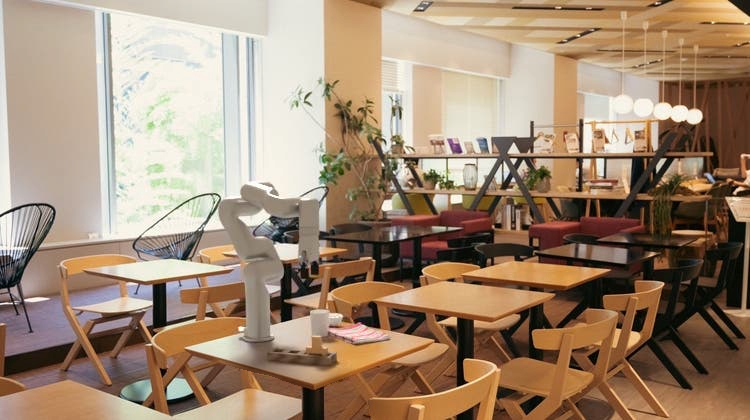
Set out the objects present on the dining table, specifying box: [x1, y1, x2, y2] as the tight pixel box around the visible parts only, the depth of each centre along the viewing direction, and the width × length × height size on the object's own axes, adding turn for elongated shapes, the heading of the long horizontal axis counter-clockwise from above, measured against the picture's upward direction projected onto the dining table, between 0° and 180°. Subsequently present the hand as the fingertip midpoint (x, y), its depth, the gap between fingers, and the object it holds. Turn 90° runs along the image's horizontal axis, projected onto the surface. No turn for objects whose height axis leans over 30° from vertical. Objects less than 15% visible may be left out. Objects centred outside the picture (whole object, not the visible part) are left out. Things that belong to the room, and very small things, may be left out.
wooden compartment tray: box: [266, 347, 338, 367], centre depth 260 cm, size 24×7×3 cm, turn 72°
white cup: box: [309, 308, 330, 338], centre depth 297 cm, size 8×8×10 cm
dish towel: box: [328, 322, 391, 346], centre depth 295 cm, size 17×23×4 cm
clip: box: [305, 335, 329, 356], centre depth 258 cm, size 8×2×9 cm, turn 72°
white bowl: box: [329, 312, 344, 328], centre depth 313 cm, size 10×12×7 cm
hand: (309, 276), depth 271 cm, fingers open, 9 cm apart
